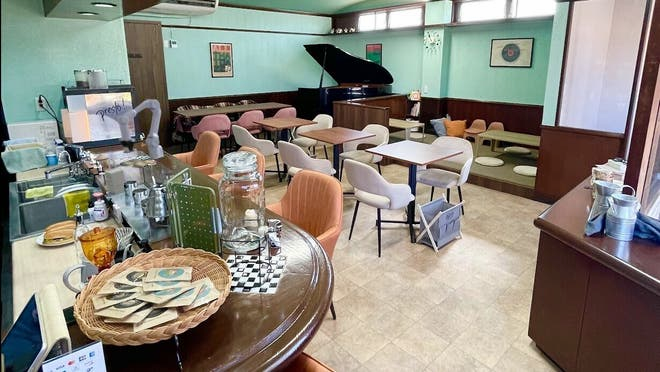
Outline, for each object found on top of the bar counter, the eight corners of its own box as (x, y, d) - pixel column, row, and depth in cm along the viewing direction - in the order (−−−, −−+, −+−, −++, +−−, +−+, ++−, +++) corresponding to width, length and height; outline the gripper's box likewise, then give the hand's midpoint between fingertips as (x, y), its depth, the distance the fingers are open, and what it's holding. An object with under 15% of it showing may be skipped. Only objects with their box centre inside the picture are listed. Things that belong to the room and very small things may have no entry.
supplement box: (121, 188, 237) (116, 168, 233) (128, 190, 233) (123, 169, 229) (108, 192, 231) (103, 171, 227) (115, 194, 227) (110, 173, 223)
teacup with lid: (96, 173, 275) (92, 156, 271) (97, 170, 282) (93, 153, 279) (116, 170, 279) (112, 153, 276) (116, 167, 287) (112, 151, 284)
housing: (131, 150, 297) (130, 144, 296) (135, 151, 295) (134, 144, 294) (123, 152, 291) (121, 146, 290) (127, 153, 289) (125, 146, 288)
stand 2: (147, 162, 297) (146, 160, 297) (156, 163, 293) (156, 160, 293) (133, 166, 287) (132, 164, 287) (143, 167, 283) (142, 165, 282)
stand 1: (134, 160, 303) (133, 158, 303) (143, 161, 299) (143, 159, 299) (120, 164, 293) (119, 162, 293) (129, 165, 289) (129, 163, 288)
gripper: (113, 133, 289) (117, 151, 293) (127, 133, 282) (131, 152, 287) (122, 131, 295) (126, 149, 299) (135, 132, 288) (139, 150, 293)
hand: (129, 150), depth 293 cm, fingers closed on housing, 4 cm apart
